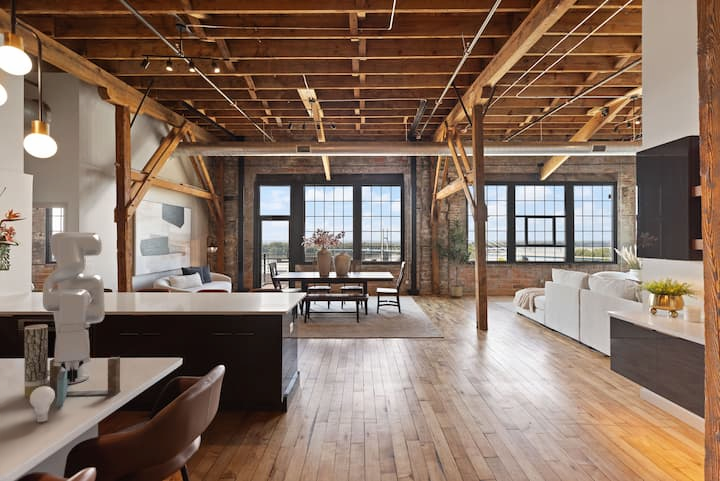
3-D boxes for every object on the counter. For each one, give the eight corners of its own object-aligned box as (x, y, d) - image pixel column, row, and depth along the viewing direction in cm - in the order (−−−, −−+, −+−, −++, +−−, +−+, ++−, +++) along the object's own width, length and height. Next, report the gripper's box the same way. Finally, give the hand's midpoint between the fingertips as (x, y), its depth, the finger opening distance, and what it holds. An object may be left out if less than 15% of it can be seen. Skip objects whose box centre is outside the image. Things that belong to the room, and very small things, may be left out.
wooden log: (22, 399, 157) (22, 328, 157) (26, 393, 163) (26, 325, 163) (46, 396, 161) (46, 326, 161) (48, 390, 167) (49, 323, 167)
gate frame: (48, 397, 160) (48, 361, 160) (55, 393, 164) (55, 358, 164) (115, 395, 162) (115, 359, 162) (120, 391, 166) (120, 356, 166)
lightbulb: (38, 418, 141) (38, 383, 141) (59, 417, 141) (59, 383, 141) (24, 426, 134) (24, 390, 134) (47, 426, 135) (47, 389, 135)
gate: (61, 392, 162) (62, 363, 162) (67, 391, 163) (67, 362, 163) (56, 406, 148) (56, 375, 148) (63, 405, 149) (63, 374, 149)
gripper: (97, 324, 161) (97, 375, 161) (47, 328, 154) (47, 381, 153) (97, 327, 155) (97, 380, 155) (45, 332, 147) (44, 387, 147)
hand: (72, 380), depth 154 cm, fingers closed
